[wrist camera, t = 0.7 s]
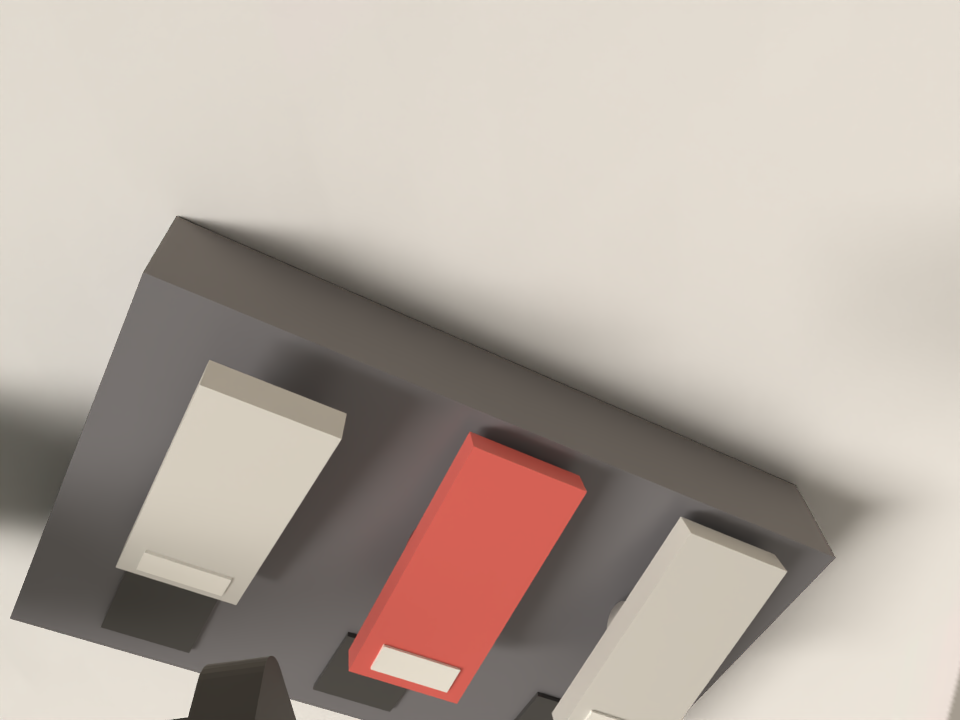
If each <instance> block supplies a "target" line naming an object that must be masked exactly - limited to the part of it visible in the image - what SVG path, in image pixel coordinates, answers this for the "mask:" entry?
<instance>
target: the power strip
mask: <svg viewBox="0 0 960 720" xmlns="http://www.w3.org/2000/svg"><path fill="white" fill-rule="evenodd" d="M209 360H211V361H214V362H216V363H219V364H221V365H224V366H226V367H229V368H231V369H234V370H237V371H239V372H242V373H244V374H247V375H249V376H252V377H254V378H257V379H260V380H262V381H265V382H267V383H270V384H272V385H275V386H277V387H280V388H282V389H285V390H288V391H290V392H293V393H295V394H298V395H300V396H303V397H305V398H308V399H311V400H313V401H316V402H318V403H321V404H323V405H326V406H328V407H331V408H333V409H336V410H339V411H341V412H344V413H346V414H347V415H346V420H345V425H344V430H343V435H342V439H341V441H340V442H339V444H338V446H337V447H336V449H335V450H334V452H333V453H332V455H331V457H330V458H329V460H328V461H327V463H326V464H325V466H324V468H323V469H322V471H321V472H320V474H319V475H318V477H317V479H316V480H315V482H314V483H313V485H312V486H311V488H310V490H309V491H308V493H307V494H306V496H305V497H304V499H303V501H302V502H301V504H300V505H299V507H298V508H297V510H296V512H295V513H294V515H293V516H292V518H291V520H290V521H289V523H288V524H287V526H286V527H285V529H284V531H283V532H282V534H281V535H280V537H279V538H278V540H277V542H276V543H275V545H274V546H273V548H272V549H271V551H270V553H269V554H268V556H267V557H266V559H265V560H264V562H263V564H262V565H261V567H260V568H259V570H258V571H257V573H256V575H255V576H254V578H253V579H252V581H251V582H250V584H249V586H248V587H247V589H246V590H245V592H244V593H243V595H242V597H241V598H240V600H239V601H238V603H237V605H234V604H231V603H228V602H224V601H221V600H218V599H215V598H212V597H208V596H205V595H202V594H199V593H196V592H193V591H189V590H186V589H183V588H180V587H177V586H173V585H170V584H167V583H164V582H161V581H157V580H154V579H151V578H148V577H145V576H141V575H138V574H135V573H132V572H129V571H125V570H122V569H119V568H116V565H117V563H118V560H119V558H120V555H121V553H122V550H123V548H124V545H125V543H126V541H127V539H128V536H129V534H130V532H131V530H132V528H133V525H134V523H135V521H136V519H137V517H138V515H139V512H140V510H141V508H142V506H143V504H144V501H145V499H146V497H147V495H148V493H149V491H150V488H151V486H152V484H153V482H154V480H155V477H156V475H157V473H158V471H159V469H160V466H161V464H162V462H163V460H164V458H165V456H166V453H167V451H168V449H169V447H170V445H171V442H172V440H173V438H174V436H175V434H176V432H177V429H178V427H179V425H180V423H181V421H182V418H183V416H184V414H185V412H186V410H187V408H188V405H189V403H190V401H191V399H192V397H193V394H194V392H195V390H196V388H197V386H198V384H199V381H200V379H201V377H202V375H203V373H204V370H205V368H206V366H207V364H208V362H209ZM469 432H472V433H475V434H477V435H480V436H482V437H485V438H487V439H490V440H492V441H495V442H497V443H500V444H502V445H505V446H507V447H510V448H512V449H514V450H517V451H519V452H522V453H524V454H527V455H529V456H532V457H534V458H537V459H539V460H542V461H544V462H547V463H549V464H552V465H554V466H557V467H559V468H562V469H564V470H567V471H569V472H572V473H574V474H576V475H579V476H580V478H581V480H582V482H583V484H584V486H585V489H586V491H587V493H586V494H585V496H584V497H583V499H582V501H581V502H580V504H579V506H578V507H577V509H576V511H575V512H574V514H573V515H572V517H571V519H570V520H569V522H568V524H567V525H566V527H565V528H564V530H563V532H562V533H561V535H560V537H559V538H558V540H557V542H556V543H555V545H554V546H553V548H552V550H551V551H550V553H549V555H548V556H547V558H546V560H545V561H544V563H543V564H542V566H541V568H540V569H539V571H538V573H537V574H536V576H535V577H534V579H533V581H532V582H531V584H530V586H529V587H528V589H527V591H526V592H525V594H524V595H523V597H522V599H521V600H520V602H519V604H518V605H517V607H516V608H515V610H514V612H513V613H512V615H511V617H510V618H509V620H508V622H507V623H506V625H505V626H504V628H503V630H502V631H501V633H500V635H499V636H498V638H497V639H496V641H495V643H494V644H493V646H492V648H491V649H490V651H489V653H488V654H487V656H486V657H485V659H484V661H483V662H482V664H481V666H480V667H479V669H478V670H477V672H476V674H475V675H474V677H473V679H472V680H471V682H470V684H469V685H468V687H467V688H466V690H465V692H464V693H463V695H462V697H461V698H460V700H459V701H458V703H457V704H456V703H453V702H449V701H446V700H443V699H439V698H436V697H433V696H429V695H426V694H423V693H420V692H416V691H413V690H410V689H406V688H403V687H400V686H396V685H393V684H390V683H386V682H383V681H380V680H377V679H373V678H370V677H367V676H363V675H360V674H357V673H353V672H350V671H349V649H350V647H351V645H352V643H353V641H354V640H355V638H356V636H357V634H358V632H359V631H360V629H361V627H362V625H363V623H364V621H365V620H366V618H367V616H368V614H369V612H370V611H371V609H372V607H373V605H374V603H375V602H376V600H377V598H378V596H379V594H380V593H381V591H382V589H383V587H384V585H385V584H386V582H387V580H388V578H389V576H390V574H391V573H392V571H393V569H394V567H395V565H396V564H397V562H398V560H399V558H400V556H401V555H402V553H403V551H404V549H405V547H406V545H407V542H408V540H409V538H410V536H411V534H412V532H413V531H414V530H415V529H416V528H417V526H418V524H419V522H420V520H421V518H422V517H423V515H424V513H425V511H426V509H427V508H428V506H429V504H430V502H431V500H432V499H433V497H434V495H435V493H436V491H437V490H438V488H439V486H440V484H441V482H442V481H443V479H444V477H445V475H446V473H447V472H448V470H449V468H450V466H451V464H452V462H453V461H454V459H455V457H456V455H457V453H458V452H459V450H460V448H461V446H462V444H463V443H464V441H465V439H466V437H467V435H468V434H469ZM680 517H683V518H686V519H688V520H691V521H693V522H696V523H698V524H701V525H703V526H705V527H708V528H710V529H713V530H715V531H718V532H720V533H723V534H725V535H728V536H730V537H733V538H735V539H738V540H740V541H743V542H745V543H748V544H750V545H753V546H755V547H758V548H760V549H763V550H765V551H767V552H770V553H772V554H775V556H776V557H777V558H778V560H779V561H780V562H781V564H782V565H783V566H784V568H785V569H786V570H787V573H786V574H785V576H784V577H783V578H782V580H781V581H780V583H779V584H778V585H777V587H776V588H775V590H774V591H773V592H772V594H771V595H770V597H769V598H768V599H767V601H766V602H765V604H764V605H763V606H762V608H761V609H760V611H759V612H758V613H757V615H756V616H755V618H754V619H753V620H752V622H751V623H750V625H749V626H748V627H747V629H746V630H745V632H744V633H743V634H742V636H741V637H740V639H739V640H738V641H737V643H736V644H735V646H734V647H733V648H732V650H731V651H730V653H729V654H728V655H727V657H726V658H725V660H724V661H723V662H722V664H721V665H720V667H719V668H718V669H717V671H716V672H715V674H714V675H713V677H712V678H711V679H710V681H709V682H708V684H707V685H706V686H705V688H704V689H703V691H702V692H701V693H700V695H699V696H698V698H697V699H696V700H695V702H696V701H697V700H698V699H699V698H700V697H701V696H702V695H703V694H704V693H705V692H706V691H707V690H708V689H709V688H710V687H711V686H712V685H713V684H714V682H715V681H716V680H717V679H718V678H719V677H720V676H721V675H722V674H723V673H724V672H725V671H726V670H727V669H728V668H729V667H730V666H731V665H732V664H733V663H734V662H735V661H736V660H737V659H738V658H739V657H740V656H741V655H742V654H743V653H744V652H745V650H746V649H747V648H748V647H749V646H750V645H751V644H752V643H753V642H754V641H755V640H756V639H757V638H758V637H759V636H760V635H761V634H762V633H763V632H764V631H765V630H766V629H767V628H768V627H769V626H770V625H771V624H772V623H773V622H774V621H775V620H776V618H777V617H778V616H779V615H780V614H781V613H782V612H783V611H784V610H785V609H786V608H787V607H788V606H789V605H790V604H791V603H792V602H793V601H794V600H795V599H796V598H797V597H798V596H799V595H800V594H801V593H802V592H803V591H804V590H805V589H806V588H807V587H808V585H809V584H810V583H811V582H812V581H813V580H814V579H815V578H816V577H817V576H818V575H819V574H820V573H821V572H822V571H823V570H824V569H825V568H826V567H827V566H828V565H829V564H830V563H831V562H832V561H833V560H834V559H835V556H834V554H833V552H832V550H831V548H830V547H829V545H828V543H827V541H826V539H825V537H824V536H823V534H822V532H821V530H820V528H819V527H818V525H817V523H816V521H815V519H814V517H813V516H812V514H811V512H810V510H809V508H808V506H807V505H806V503H805V501H804V499H803V497H802V496H801V494H800V492H799V490H798V488H797V486H796V485H794V484H791V483H789V482H787V481H784V480H782V479H780V478H778V477H775V476H773V475H771V474H768V473H766V472H764V471H761V470H759V469H757V468H755V467H752V466H750V465H748V464H745V463H743V462H741V461H738V460H736V459H734V458H732V457H729V456H727V455H725V454H722V453H720V452H718V451H715V450H713V449H711V448H709V447H706V446H704V445H702V444H699V443H697V442H695V441H692V440H690V439H688V438H686V437H683V436H681V435H679V434H676V433H674V432H672V431H669V430H667V429H665V428H663V427H660V426H658V425H656V424H653V423H651V422H649V421H647V420H644V419H642V418H640V417H637V416H635V415H633V414H630V413H628V412H626V411H624V410H621V409H619V408H617V407H614V406H612V405H610V404H607V403H605V402H603V401H601V400H598V399H596V398H594V397H591V396H589V395H587V394H584V393H582V392H580V391H578V390H575V389H573V388H571V387H568V386H566V385H564V384H561V383H559V382H557V381H555V380H552V379H550V378H548V377H545V376H543V375H541V374H538V373H536V372H534V371H532V370H529V369H527V368H525V367H522V366H520V365H518V364H516V363H513V362H511V361H509V360H506V359H504V358H502V357H499V356H497V355H495V354H493V353H490V352H488V351H486V350H483V349H481V348H479V347H476V346H474V345H472V344H470V343H467V342H465V341H463V340H460V339H458V338H456V337H453V336H451V335H449V334H447V333H444V332H442V331H440V330H437V329H435V328H433V327H430V326H428V325H426V324H424V323H421V322H419V321H417V320H414V319H412V318H410V317H407V316H405V315H403V314H401V313H398V312H396V311H394V310H391V309H389V308H387V307H385V306H382V305H380V304H378V303H375V302H373V301H371V300H368V299H366V298H364V297H362V296H359V295H357V294H355V293H352V292H350V291H348V290H345V289H343V288H341V287H339V286H336V285H334V284H332V283H329V282H327V281H325V280H322V279H320V278H318V277H316V276H313V275H311V274H309V273H306V272H304V271H302V270H299V269H297V268H295V267H293V266H290V265H288V264H286V263H283V262H281V261H279V260H276V259H274V258H272V257H270V256H267V255H265V254H263V253H260V252H258V251H256V250H253V249H251V248H249V247H247V246H244V245H242V244H240V243H237V242H235V241H233V240H231V239H228V238H226V237H224V236H221V235H219V234H217V233H214V232H212V231H210V230H208V229H205V228H203V227H201V226H198V225H196V224H194V223H191V222H189V221H187V220H185V219H182V218H180V217H178V216H176V218H175V220H174V221H173V223H172V225H171V226H170V228H169V230H168V231H167V233H166V235H165V236H164V238H163V240H162V241H161V243H160V245H159V247H158V248H157V250H156V252H155V253H154V255H153V257H152V258H151V260H150V262H149V263H148V265H147V267H146V269H145V270H144V272H143V274H142V277H141V279H140V282H139V285H138V287H137V290H136V292H135V295H134V298H133V300H132V303H131V305H130V308H129V311H128V313H127V316H126V318H125V321H124V324H123V326H122V329H121V331H120V334H119V337H118V339H117V342H116V344H115V347H114V350H113V352H112V355H111V357H110V360H109V363H108V365H107V368H106V370H105V373H104V376H103V378H102V381H101V383H100V386H99V389H98V391H97V394H96V396H95V399H94V402H93V404H92V407H91V409H90V412H89V415H88V417H87V420H86V422H85V425H84V428H83V430H82V433H81V435H80V438H79V440H78V443H77V446H76V448H75V451H74V453H73V456H72V459H71V461H70V464H69V466H68V469H67V472H66V474H65V477H64V479H63V482H62V485H61V487H60V490H59V492H58V495H57V498H56V500H55V503H54V505H53V508H52V511H51V513H50V516H49V518H48V521H47V524H46V526H45V529H44V531H43V534H42V537H41V539H40V542H39V544H38V547H37V550H36V552H35V555H34V557H33V560H32V563H31V565H30V568H29V570H28V573H27V576H26V578H25V581H24V583H23V586H22V589H21V591H20V594H19V596H18V599H17V601H16V604H15V607H14V609H13V612H12V614H11V617H10V619H13V620H17V621H20V622H24V623H27V624H31V625H34V626H38V627H41V628H45V629H48V630H52V631H55V632H59V633H62V634H66V635H69V636H73V637H76V638H80V639H83V640H86V641H90V642H93V643H97V644H100V645H104V646H107V647H111V648H114V649H118V650H121V651H125V652H128V653H132V654H135V655H139V656H142V657H146V658H149V659H153V660H156V661H160V662H163V663H167V664H170V665H174V666H177V667H181V668H184V669H187V670H191V671H194V672H198V673H201V671H202V669H203V668H204V666H206V665H207V664H215V663H222V662H230V661H237V660H244V659H252V658H259V657H267V656H274V657H275V658H276V659H277V661H278V663H279V666H280V669H281V672H282V675H283V679H284V682H285V685H286V689H287V692H288V695H289V698H290V699H292V700H295V701H299V702H302V703H306V704H309V705H313V706H316V707H320V708H323V709H327V710H330V711H334V712H337V713H341V714H344V715H348V716H351V717H355V718H358V719H362V720H553V716H552V712H553V710H554V709H555V707H556V706H557V704H558V703H559V701H560V700H561V698H562V697H563V695H564V694H565V692H566V691H567V689H568V688H569V686H570V685H571V683H572V682H573V680H574V678H575V677H576V675H577V674H578V672H579V671H580V669H581V668H582V666H583V665H584V663H585V662H586V660H587V659H588V657H589V656H590V654H591V653H592V651H593V650H594V648H595V646H596V645H597V643H598V642H599V640H600V639H601V637H602V636H603V634H604V633H605V631H606V630H607V623H608V618H609V615H610V612H611V610H612V609H613V607H614V606H615V605H616V604H617V603H618V602H620V601H626V599H627V598H628V596H629V595H630V593H631V592H632V590H633V589H634V587H635V585H636V584H637V582H638V581H639V579H640V578H641V576H642V575H643V573H644V572H645V570H646V569H647V567H648V566H649V564H650V563H651V561H652V560H653V558H654V557H655V555H656V553H657V552H658V550H659V549H660V547H661V546H662V544H663V543H664V541H665V540H666V538H667V537H668V535H669V534H670V532H671V531H672V529H673V528H674V526H675V525H676V523H677V521H678V520H679V518H680ZM695 702H694V703H695ZM694 703H693V704H694Z"/></svg>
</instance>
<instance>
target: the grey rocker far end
mask: <svg viewBox="0 0 960 720" xmlns="http://www.w3.org/2000/svg"><path fill="white" fill-rule="evenodd" d="M786 573H787V570H786V569H785V568H784V566H783V565H782V564H781V562H780V561H779V560H778V558H777V557H776V556H775V554H772V553H770V552H767V551H765V550H763V549H760V548H758V547H755V546H753V545H750V544H748V543H745V542H743V541H740V540H738V539H735V538H733V537H730V536H728V535H725V534H723V533H720V532H718V531H715V530H713V529H710V528H708V527H705V526H703V525H701V524H698V523H696V522H693V521H691V520H688V519H686V518H683V517H680V518H679V520H678V521H677V523H676V525H675V526H674V528H673V529H672V531H671V532H670V534H669V535H668V537H667V538H666V540H665V541H664V543H663V544H662V546H661V547H660V549H659V550H658V552H657V553H656V555H655V557H654V558H653V560H652V561H651V563H650V564H649V566H648V567H647V569H646V570H645V572H644V573H643V575H642V576H641V578H640V579H639V581H638V582H637V584H636V585H635V587H634V589H633V590H632V592H631V593H630V595H629V596H628V598H627V599H626V601H620V602H618V603H617V604H616V605H615V606H614V607H613V609H612V610H611V612H610V615H609V618H608V623H607V630H606V631H605V633H604V634H603V636H602V637H601V639H600V640H599V642H598V643H597V645H596V646H595V648H594V650H593V651H592V653H591V654H590V656H589V657H588V659H587V660H586V662H585V663H584V665H583V666H582V668H581V669H580V671H579V672H578V674H577V675H576V677H575V678H574V680H573V682H572V683H571V685H570V686H569V688H568V689H567V691H566V692H565V694H564V695H563V697H562V698H561V700H560V701H559V703H558V704H557V706H556V707H555V709H554V710H553V712H552V716H553V720H682V719H683V717H684V716H685V714H686V713H687V712H688V710H689V709H690V707H691V706H692V705H693V703H694V702H695V700H696V699H697V698H698V696H699V695H700V693H701V692H702V691H703V689H704V688H705V686H706V685H707V684H708V682H709V681H710V679H711V678H712V677H713V675H714V674H715V672H716V671H717V669H718V668H719V667H720V665H721V664H722V662H723V661H724V660H725V658H726V657H727V655H728V654H729V653H730V651H731V650H732V648H733V647H734V646H735V644H736V643H737V641H738V640H739V639H740V637H741V636H742V634H743V633H744V632H745V630H746V629H747V627H748V626H749V625H750V623H751V622H752V620H753V619H754V618H755V616H756V615H757V613H758V612H759V611H760V609H761V608H762V606H763V605H764V604H765V602H766V601H767V599H768V598H769V597H770V595H771V594H772V592H773V591H774V590H775V588H776V587H777V585H778V584H779V583H780V581H781V580H782V578H783V577H784V576H785V574H786Z"/></svg>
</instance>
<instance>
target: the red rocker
mask: <svg viewBox="0 0 960 720" xmlns="http://www.w3.org/2000/svg"><path fill="white" fill-rule="evenodd" d="M586 493H587V491H586V489H585V486H584V484H583V482H582V480H581V478H580V476H579V475H576V474H574V473H572V472H569V471H567V470H564V469H562V468H559V467H557V466H554V465H552V464H549V463H547V462H544V461H542V460H539V459H537V458H534V457H532V456H529V455H527V454H524V453H522V452H519V451H517V450H514V449H512V448H510V447H507V446H505V445H502V444H500V443H497V442H495V441H492V440H490V439H487V438H485V437H482V436H480V435H477V434H475V433H472V432H469V434H468V435H467V437H466V439H465V441H464V443H463V444H462V446H461V448H460V450H459V452H458V453H457V455H456V457H455V459H454V461H453V462H452V464H451V466H450V468H449V470H448V472H447V473H446V475H445V477H444V479H443V481H442V482H441V484H440V486H439V488H438V490H437V491H436V493H435V495H434V497H433V499H432V500H431V502H430V504H429V506H428V508H427V509H426V511H425V513H424V515H423V517H422V518H421V520H420V522H419V524H418V526H417V528H416V529H415V530H414V531H413V532H412V534H411V536H410V538H409V540H408V542H407V545H406V547H405V549H404V551H403V553H402V555H401V556H400V558H399V560H398V562H397V564H396V565H395V567H394V569H393V571H392V573H391V574H390V576H389V578H388V580H387V582H386V584H385V585H384V587H383V589H382V591H381V593H380V594H379V596H378V598H377V600H376V602H375V603H374V605H373V607H372V609H371V611H370V612H369V614H368V616H367V618H366V620H365V621H364V623H363V625H362V627H361V629H360V631H359V632H358V634H357V636H356V638H355V640H354V641H353V643H352V645H351V647H350V649H349V671H350V672H353V673H357V674H360V675H363V676H367V677H370V678H373V679H377V680H380V681H383V682H386V683H390V684H393V685H396V686H400V687H403V688H406V689H410V690H413V691H416V692H420V693H423V694H426V695H429V696H433V697H436V698H439V699H443V700H446V701H449V702H453V703H456V704H457V703H458V701H459V700H460V698H461V697H462V695H463V693H464V692H465V690H466V688H467V687H468V685H469V684H470V682H471V680H472V679H473V677H474V675H475V674H476V672H477V670H478V669H479V667H480V666H481V664H482V662H483V661H484V659H485V657H486V656H487V654H488V653H489V651H490V649H491V648H492V646H493V644H494V643H495V641H496V639H497V638H498V636H499V635H500V633H501V631H502V630H503V628H504V626H505V625H506V623H507V622H508V620H509V618H510V617H511V615H512V613H513V612H514V610H515V608H516V607H517V605H518V604H519V602H520V600H521V599H522V597H523V595H524V594H525V592H526V591H527V589H528V587H529V586H530V584H531V582H532V581H533V579H534V577H535V576H536V574H537V573H538V571H539V569H540V568H541V566H542V564H543V563H544V561H545V560H546V558H547V556H548V555H549V553H550V551H551V550H552V548H553V546H554V545H555V543H556V542H557V540H558V538H559V537H560V535H561V533H562V532H563V530H564V528H565V527H566V525H567V524H568V522H569V520H570V519H571V517H572V515H573V514H574V512H575V511H576V509H577V507H578V506H579V504H580V502H581V501H582V499H583V497H584V496H585V494H586Z"/></svg>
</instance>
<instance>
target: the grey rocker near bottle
mask: <svg viewBox="0 0 960 720" xmlns="http://www.w3.org/2000/svg"><path fill="white" fill-rule="evenodd" d="M346 415H347V414H346V413H344V412H341V411H339V410H336V409H333V408H331V407H328V406H326V405H323V404H321V403H318V402H316V401H313V400H311V399H308V398H305V397H303V396H300V395H298V394H295V393H293V392H290V391H288V390H285V389H282V388H280V387H277V386H275V385H272V384H270V383H267V382H265V381H262V380H260V379H257V378H254V377H252V376H249V375H247V374H244V373H242V372H239V371H237V370H234V369H231V368H229V367H226V366H224V365H221V364H219V363H216V362H214V361H211V360H209V362H208V364H207V366H206V368H205V370H204V373H203V375H202V377H201V379H200V381H199V384H198V386H197V388H196V390H195V392H194V394H193V397H192V399H191V401H190V403H189V405H188V408H187V410H186V412H185V414H184V416H183V418H182V421H181V423H180V425H179V427H178V429H177V432H176V434H175V436H174V438H173V440H172V442H171V445H170V447H169V449H168V451H167V453H166V456H165V458H164V460H163V462H162V464H161V466H160V469H159V471H158V473H157V475H156V477H155V480H154V482H153V484H152V486H151V488H150V491H149V493H148V495H147V497H146V499H145V501H144V504H143V506H142V508H141V510H140V512H139V515H138V517H137V519H136V521H135V523H134V525H133V528H132V530H131V532H130V534H129V536H128V539H127V541H126V543H125V545H124V548H123V550H122V553H121V555H120V558H119V560H118V563H117V565H116V568H119V569H122V570H125V571H129V572H132V573H135V574H138V575H141V576H145V577H148V578H151V579H154V580H157V581H161V582H164V583H167V584H170V585H173V586H177V587H180V588H183V589H186V590H189V591H193V592H196V593H199V594H202V595H205V596H208V597H212V598H215V599H218V600H221V601H224V602H228V603H231V604H234V605H237V603H238V601H239V600H240V598H241V597H242V595H243V593H244V592H245V590H246V589H247V587H248V586H249V584H250V582H251V581H252V579H253V578H254V576H255V575H256V573H257V571H258V570H259V568H260V567H261V565H262V564H263V562H264V560H265V559H266V557H267V556H268V554H269V553H270V551H271V549H272V548H273V546H274V545H275V543H276V542H277V540H278V538H279V537H280V535H281V534H282V532H283V531H284V529H285V527H286V526H287V524H288V523H289V521H290V520H291V518H292V516H293V515H294V513H295V512H296V510H297V508H298V507H299V505H300V504H301V502H302V501H303V499H304V497H305V496H306V494H307V493H308V491H309V490H310V488H311V486H312V485H313V483H314V482H315V480H316V479H317V477H318V475H319V474H320V472H321V471H322V469H323V468H324V466H325V464H326V463H327V461H328V460H329V458H330V457H331V455H332V453H333V452H334V450H335V449H336V447H337V446H338V444H339V442H340V441H341V439H342V435H343V430H344V425H345V420H346Z"/></svg>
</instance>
